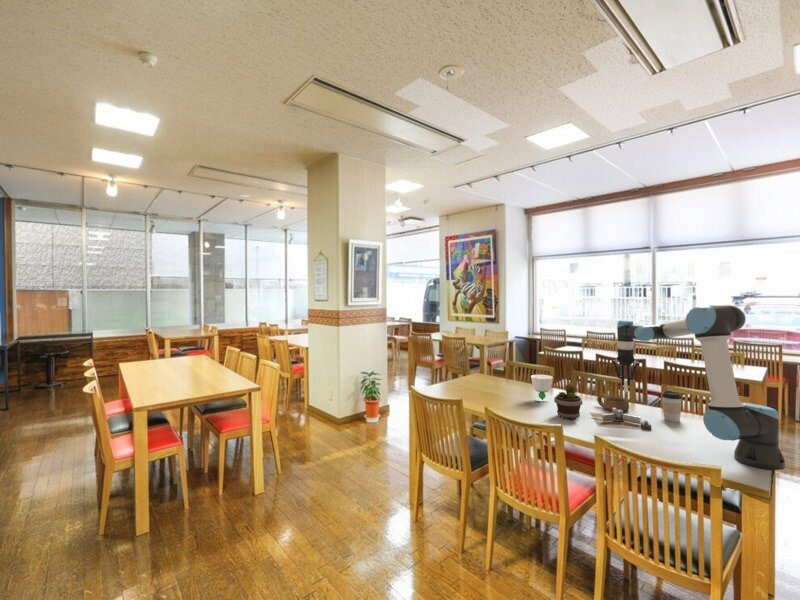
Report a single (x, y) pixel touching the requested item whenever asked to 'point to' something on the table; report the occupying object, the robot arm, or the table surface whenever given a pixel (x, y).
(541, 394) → the cup
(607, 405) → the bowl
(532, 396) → the table surface
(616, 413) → the grey cross-shaped piece
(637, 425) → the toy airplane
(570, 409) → the flowerpot
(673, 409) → the coffee cup
